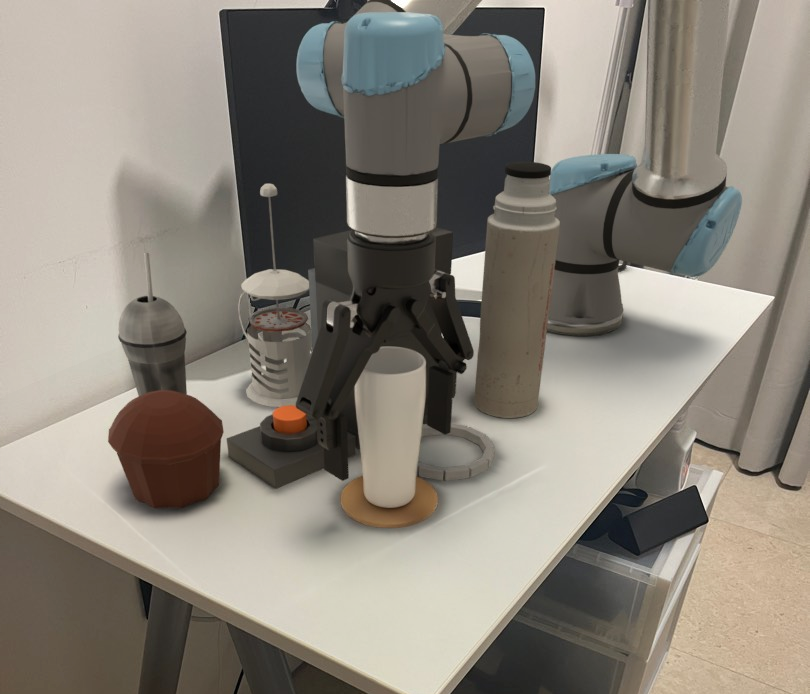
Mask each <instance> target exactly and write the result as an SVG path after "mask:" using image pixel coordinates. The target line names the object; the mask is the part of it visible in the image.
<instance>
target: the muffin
mask: <svg viewBox="0 0 810 694" xmlns="http://www.w3.org/2000/svg"><path fill="white" fill-rule="evenodd" d="M223 425H224V424H223V420H222V419H221V418H220V417H219V416H218V415H217V414H215V412H213V411H212V410H211V409H210V408H209V407H208V406H207V405H206V404H204V403H203V402H202V401H200V400H199V399H198V398H197V397H194V396H192V395H190V394H187V395H186V394H183V393H180V392H176V391H170V390H159V391H153V392H148V393H146V394H143V395H141V396H137V397H135V398H133V399H131V400H130V401H128V402H127V403H126V404H125V405H124V406H123V407H122V409H120V410H119V412H118V413H117V415H116V416H115V417H114V420H113V422H112V424H111V426H110V427H109V428H108V436H107V437H108V438H107V443H108V444H109V446H110V448H112V449H113V450H114V451H115V453H116V455H117V457H118V460H119V462H120V465H121V468H122V470H123V472H124V475H125V477H126V480H127V483H128V485H129V487H130V490H131V492H132V494H133V497H134V500H135V501H138V502H142V503H144V504H147V505H148V506H150V507H151V508H153V509H162V508H163V509H164V508H174V509H175V508H176V509H178V508H179V509H183V508H185V507H188V506H191V505H193V504H195V503H198V502H201V501H204V500H208V499H209V497H210V495H211V494H212V492H213V491H215V490H216V489H217V488H218V487H219V485H220V472H221V471H220V468H221V446H222V439H223V435H224V427H223Z"/></svg>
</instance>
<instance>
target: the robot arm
mask: <svg viewBox="0 0 810 694" xmlns="http://www.w3.org/2000/svg"><path fill="white" fill-rule="evenodd" d="M482 1H483V0H367V2H366V3H364V5H362V7H361V8H360V9H358V10H357V11H356V12H355V14H354V15H353V16H351V17H350V18H349V20H348V21H346V22H344V23H342V22H341V21H337V20H335V21H334V20H333V21H331V22H329V23H327V22H326V23H325V22H324V23H323V22H322V23H319V24H316V25H314V26H312V27H311V28H310V29H309V30H308V31H307V32H306V33H305V35H304V36H303V38H302V39H301V42H300V44H299V47H298V50H297V56H296V64H295V65H296V77H297V82H298V85H299V87H300V91H301V93H302V94H303V97H304V99H306V101H307V102H308V104H310V105H311V106H312V107H313V108H315V109H316V110H319V111H321V112H324V113H327V114H331V115H334V116H337V117H339V118H343V120H344V142H345V143H344V145H345V172H346V173H345V174H346V175H345V191H346V192H345V193H346V195H345V197H346V198H345V199H346V223H347V226H348V227H349V228H350V230H351V232H350V233H349V234H348V236H347V252H348V273H349V276H350V278H351V281H352V284H353V292H352V296H351V298H350V301H345V302H338V303H337V302H335V301H332V300H330V299H327V300H325V301H324V302H323V304H322V311H321V327H320V330H319V333H318V337H317V340H316V343H315V346H314V349H313V352H312V355H311V358H310V361H309V364H308V367H307V370H306V373H305V377H304V380H303V383H302V386H301V389H300V392H299V395H298V398H297V401H296V408H297V409H298V410H300V411H302V412H304V413H305V414H307V415H309V416H311V417H312V418H314V419H316V422H317V441H318V443H319V445H321V446H323V447H324V468H323V470H324V471H326V472H327V473H329V474H330V475H332V476H334V477H335V478H337V479H338V480H340V481H342V482H344V481H346V480H348V479H350V476H349V475H350V474H349V458H348V433H347V416H346V415H344V414H342V413H340V412H341V410H342V408H343V407H344V405H345V403H346V401H347V399H348V397H349V395H350V394H351V392H352V390H353V388H354V386H355V384H356V383H357V381H358V379H359V377H360V375H361V373H362V372H363V370H364V368H365V366H366V364H367V362H368V361H369V359H370V357H371V355H372V354H374V353H377V352H378V351H379V349H380V347H381V345H382V344H383V342H384V343H387V342H390V341H392V340H394V339H395V338H397V337H405V336H408V335H411V332H412V333H413V334H414V335H415V337H416V338H417V339H418V341H419V342H420V343H421V344H422V346H423V347H424V348H425V349H426V351H427V352H428V353H429V354H430V356H431V357H432V358H433V359H434V361H435V362H436V363H437V364H439V367H437V366H435V365H434V366H431V367H429V385H428V412H427V426H429V427H431V428H433V429H435V430H437V431H439V432H441V433H443V434H442V435H444V436H445V435H446V434H448V433H450V431H451V423H452V412H453V399H454V398H455V396H456V394H457V377H458V376H457V375H458V374H459V375H462V374H464V373H465V372H466V370H467V367H468V366H467V362H466V361H470V360H472V359H473V357H474V355H475V351H474V347H473V344H472V341H471V339H470V336H469V333H468V330H467V327H466V324H465V321H464V318H463V315H462V311H461V309H460V306H459V303H458V300H457V298H456V279H455V276H454V275H453V274H447V273H445V272H442V271H439V270H436V269H435V246H436V237H435V236H434V234H433V233H432V232H431V231H432V230H433V229H434V228H435V227H438V226H437V225H438V224H437V223H438V191H439V189H438V187H439V167H440V166H439V162H440V161H439V159H440V146H441V145H446V144H451V143H455V142H459V141H464V140H470V139H474V138H479V137H491V136H493V135H497V133H499V132H502V131H505V130H507V129H510V128H512V127H514V126H516V125H517V124H518V123H519V122H520V121H522V119H523V118H524V117H525V116H526V115H527V113H528V111H529V110H530V108H531V106H532V103H533V101H534V97H535V91H536V71H535V70H536V69H535V66H534V61H533V60H532V58H531V55H530V53H529V51H528V49H527V48H526V47H525V46H524V44H522V43H521V42H520V41H519V40H517V38H514V37H512V36H510V35H506V34H496V33H493V34H491V33H487V32H486V33H485V32H483V33H480V34H479V35H474V36H473V35H458V34H454V33H455V32H456V31H457V29H459V27H460V26H461V25H462V24H463V23H464V22H465V20H467V19H468V17H469V16H470V15H471V14H472V12H473V11H474V10H475V9H476V8H477V7H478V6H479V4H481V3H482ZM647 1H648V2H647V41H646V42H647V43H646V47H647V48H646V79H645V80H646V84H645V86H646V87H645V88H646V89H645V124H644V126H645V127H644V129H645V130H644V135H645V136H644V159H643V160H642V161H641V162H640V163H639V164H638V163H637V159H636V157H635V156H633V155H629V154H625V153H624V154H622V153H601V154H598V153H597V154H588V155H577V156H572V157H568V158H563V159H561V160H560V161H557V162H556V163H555V164H554V165H553V166H552V167H551V175H550V176H549V180H550V189H549V194H550V195H552V196H553V197H554V198H555V199H556V208H557V210H556V211H555V215H554V217H555V218H557V219H558V220H559V221H560V228H559V236H558V244H557V252H556V260H555V269H554V277H553V285H552V293H551V301H550V309H549V316H548V323H547V332H549V333H555V334H560V335H565V336H566V335H567V336H596V335H603V334H606V333H611V332H613V331H615V330H616V329H618V328H619V327H620V326H621V325H622V321H623V315H624V305H623V300H622V292H621V285H620V278H619V271H621V270H623V269H625V268H626V267H627V265H628V263H629V264H630V263H631V264H634V265H638V266H643V267H646V268H651V269H656V270H660V271H663V272H667V273H670V275H681V276H685V277H692V278H697V277H701V276H703V275H705V274H707V273H708V272H709V271H710V270H711V269H712V268H713V267H714V266H715V265H716V264H717V262H718V261H719V259H720V258H721V256H722V255H723V253H724V252H725V250H726V248H727V246H728V244H729V242H730V240H731V238H732V236H733V234H734V231H735V229H736V226H737V223H738V220H739V217H740V213H741V209H742V204H743V195H742V192H741V191H740V190H739V188H735V187H734V186H733V185H730V186H727V174H728V166H727V163H726V162H725V160H724V159H723V158H722V157H721V156H720V155H719V154H717V146H718V136H719V135H718V133H719V125H720V112H721V102H722V90H723V80H724V69H725V59H726V58H725V56H726V47H727V34H728V23H729V13H730V2H731V0H647ZM621 261H622V264H620V262H621ZM428 299H430V302H431V305H432V308H433V311H434V313H435V316H436V319H437V321H438V324H439V327H440V329H441V332H442V336H441V334H440V333H439V332H438V330H437V329H436V328H435V326H434V325H435V323H434V321H433V320H432V319H431V317H430V316H429V315H428V313H427V312H426V311H425V305H426V303H427V301H428ZM353 318H354V319H353ZM352 319H353V321H352ZM363 330H364V332H365V333H366V334H367V335H368V336H369V337H370V338H368V339H366V338H364V337H362V336H360V335H361V333H362V331H363ZM464 361H465V362H464ZM329 399H331V402H330V403H329V402H328V401H329ZM446 436H447V435H446Z"/></svg>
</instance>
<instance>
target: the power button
mask: <svg viewBox="0 0 810 694" xmlns="http://www.w3.org/2000/svg"><path fill="white" fill-rule="evenodd" d="M272 414H273V423H274V429H275V431H277V432H279V433H284V434H294V433H299V432H302V431H304V430H305V429H306V428H307V417H306V414H305V413H304V412H302V411H300V410H298V409H297V408H296V406H293V405H289V406H282V407H276V408H275V409H274V410H273V412H272Z"/></svg>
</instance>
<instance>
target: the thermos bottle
mask: <svg viewBox="0 0 810 694" xmlns="http://www.w3.org/2000/svg"><path fill="white" fill-rule="evenodd" d="M551 170H552V166H551V165H549V164H545V163H542V162H535V161H513V162H509V163H506V164H505V166H504V174H505V175H506V177H505V178H504V185H503V186H504V187H503V191H501V192H499V193H498V194H497V195H495V200H494V205H493V206H492V209H493V210H494V211H493V212H494V213H492V214H491V215H489V216H488V217H487V222H486V233H485V237H486V238H485V247H484V248H485V250H484V263H483V275H482V289H481V290H482V291H481V304H480V317H479V318H480V319H479V341H478V347H477V349H478V351H477V359H476V370H475V372H476V373H475V385H474V398H473V399H474V400H473V402H474V406H475V407H476V408H477V410H478V411H480V412H482V413H484V414H486V415H488V416H492V417H496V418H503V419H517V418H523V417H527V416H529V415H531V414H533V413H534V412H535V411H536V410H537V409H538V406H539V399H540V390H541V381H542V375H543V374H542V373H543V366H544V357H545V349H546V341H547V340H546V339H547V333H548V331H547V323H548V316H549V309H550V301H551V293H552V285H553V277H554V269H555V260H556V252H557V244H558V236H559V228H560V221H559V220H558V219H557V218H555V217H554V215H555V211H556V210H557V208H556V199H555V198H554V197H553V196H552V195H550V194H549V189H550V180H549V179H550V175H551Z"/></svg>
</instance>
